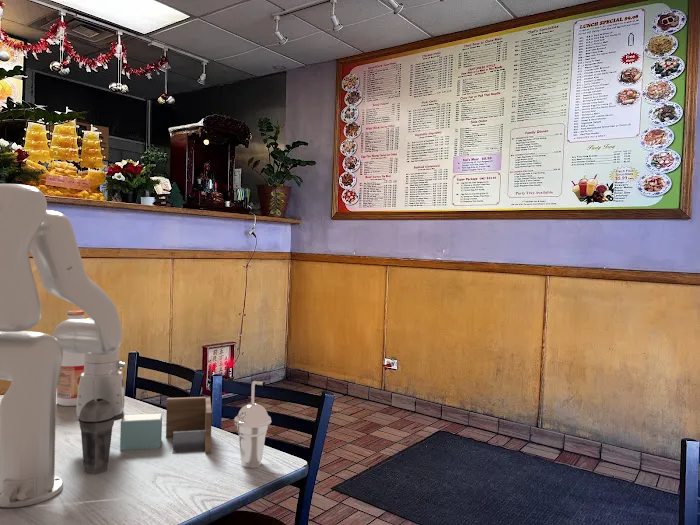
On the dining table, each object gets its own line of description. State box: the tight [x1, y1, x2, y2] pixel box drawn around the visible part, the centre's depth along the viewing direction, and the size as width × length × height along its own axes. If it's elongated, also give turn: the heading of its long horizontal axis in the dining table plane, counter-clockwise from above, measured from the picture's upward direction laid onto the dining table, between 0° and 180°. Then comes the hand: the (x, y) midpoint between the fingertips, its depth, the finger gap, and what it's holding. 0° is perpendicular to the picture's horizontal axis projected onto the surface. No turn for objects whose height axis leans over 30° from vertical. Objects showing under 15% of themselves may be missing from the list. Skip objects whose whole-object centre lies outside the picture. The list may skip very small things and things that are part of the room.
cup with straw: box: [233, 380, 272, 469], centre depth 124 cm, size 8×9×20 cm
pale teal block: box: [119, 413, 163, 451], centre depth 134 cm, size 5×9×7 cm, turn 105°
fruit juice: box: [56, 309, 86, 407], centre depth 167 cm, size 9×9×28 cm
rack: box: [165, 396, 213, 455], centre depth 135 cm, size 14×11×10 cm
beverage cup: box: [78, 380, 115, 475], centre depth 118 cm, size 7×7×20 cm
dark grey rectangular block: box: [172, 430, 205, 455], centre depth 132 cm, size 4×8×4 cm, turn 106°
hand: (99, 443), depth 131 cm, fingers closed
